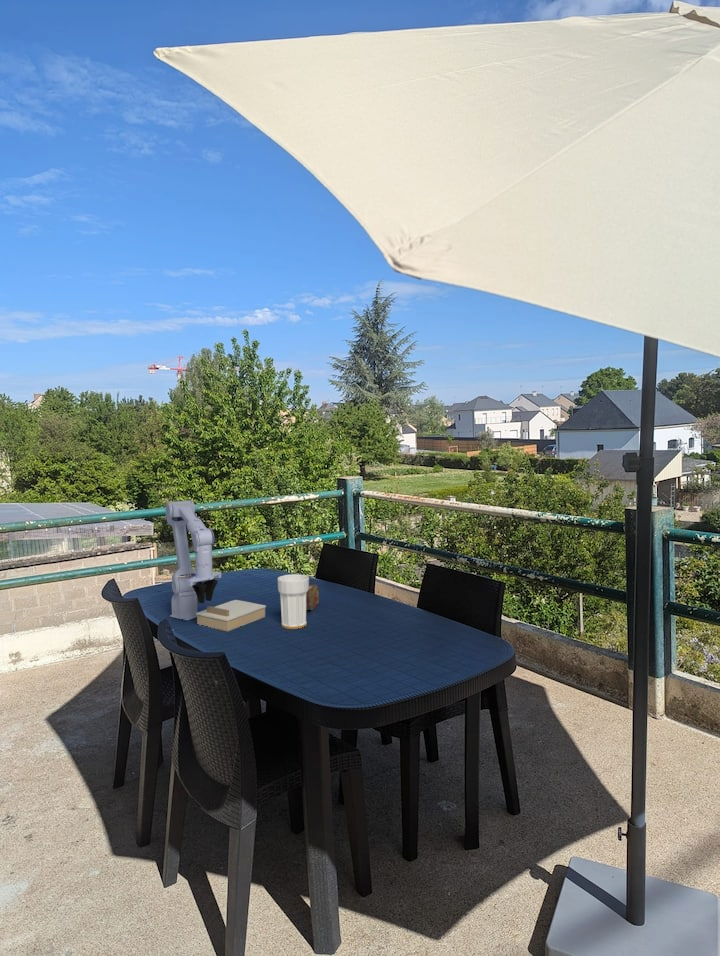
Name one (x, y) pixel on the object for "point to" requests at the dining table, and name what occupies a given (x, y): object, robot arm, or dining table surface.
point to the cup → (293, 600)
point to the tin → (312, 597)
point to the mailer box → (232, 623)
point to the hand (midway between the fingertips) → (205, 601)
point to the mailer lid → (230, 610)
